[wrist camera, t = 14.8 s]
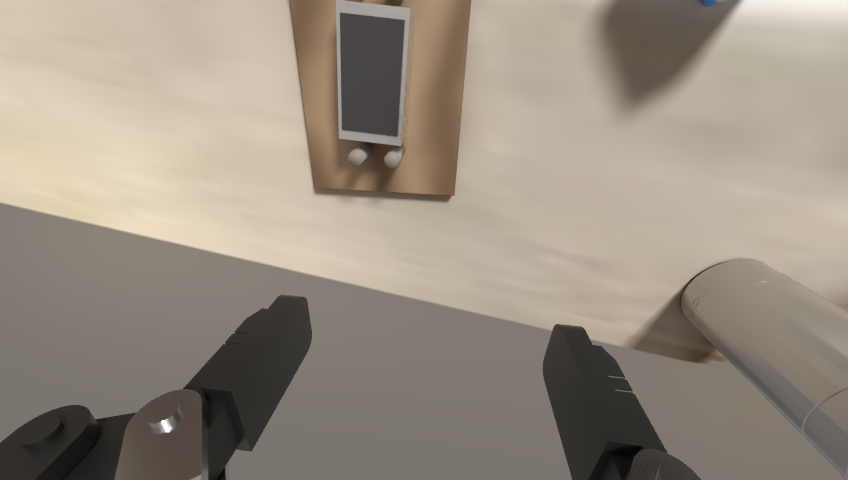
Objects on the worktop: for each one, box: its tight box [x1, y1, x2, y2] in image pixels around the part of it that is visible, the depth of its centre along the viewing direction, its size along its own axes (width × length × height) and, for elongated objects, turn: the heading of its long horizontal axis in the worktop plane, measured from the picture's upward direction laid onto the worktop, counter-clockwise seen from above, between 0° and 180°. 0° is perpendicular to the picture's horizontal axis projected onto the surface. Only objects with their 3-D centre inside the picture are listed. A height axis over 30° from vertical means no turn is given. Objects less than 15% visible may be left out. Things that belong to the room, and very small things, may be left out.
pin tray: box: [290, 0, 471, 196], centre depth 25 cm, size 14×20×5 cm
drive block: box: [336, 0, 416, 146], centre depth 25 cm, size 5×9×4 cm, turn 174°
